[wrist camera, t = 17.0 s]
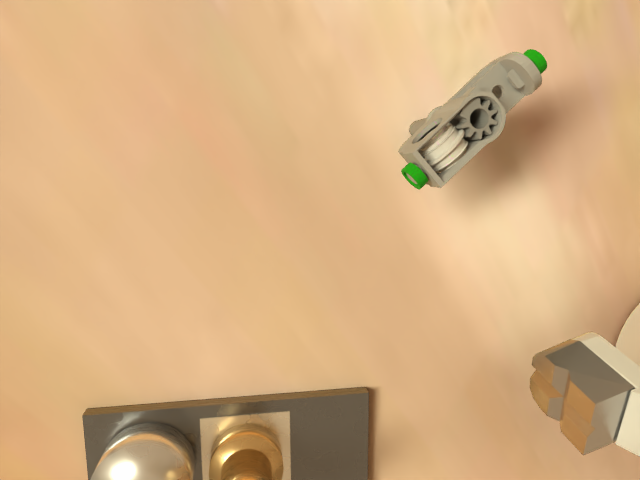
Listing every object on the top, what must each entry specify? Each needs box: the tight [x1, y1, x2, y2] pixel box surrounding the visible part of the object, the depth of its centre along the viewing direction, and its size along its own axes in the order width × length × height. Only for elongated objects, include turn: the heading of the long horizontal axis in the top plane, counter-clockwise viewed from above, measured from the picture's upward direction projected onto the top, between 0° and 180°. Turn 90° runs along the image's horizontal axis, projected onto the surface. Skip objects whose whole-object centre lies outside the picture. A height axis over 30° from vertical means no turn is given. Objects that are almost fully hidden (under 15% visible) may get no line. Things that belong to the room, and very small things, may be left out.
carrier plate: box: [82, 387, 369, 480], centre depth 36 cm, size 22×9×4 cm, turn 90°
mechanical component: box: [398, 49, 547, 189], centre depth 31 cm, size 3×10×10 cm, turn 133°
